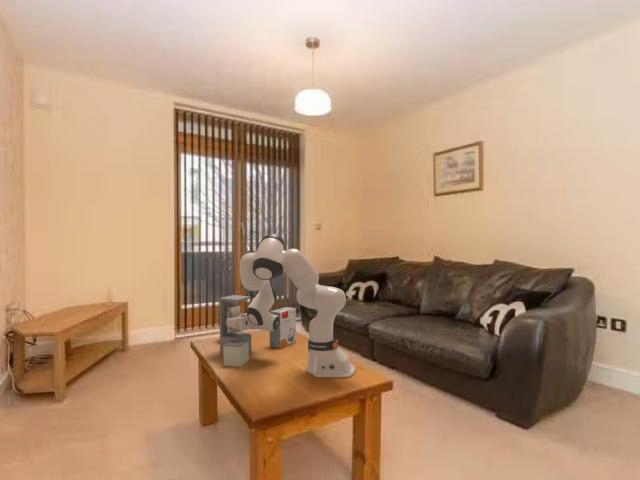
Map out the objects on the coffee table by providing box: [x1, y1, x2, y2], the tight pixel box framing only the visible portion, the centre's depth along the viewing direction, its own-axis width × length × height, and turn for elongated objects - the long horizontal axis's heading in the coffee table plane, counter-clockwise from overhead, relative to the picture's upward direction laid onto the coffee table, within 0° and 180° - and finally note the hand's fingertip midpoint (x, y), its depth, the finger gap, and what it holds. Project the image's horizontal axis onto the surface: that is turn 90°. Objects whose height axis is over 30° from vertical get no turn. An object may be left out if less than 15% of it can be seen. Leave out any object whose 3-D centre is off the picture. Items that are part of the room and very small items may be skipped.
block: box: [227, 304, 242, 334], centre depth 193 cm, size 5×5×14 cm
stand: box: [223, 340, 250, 368], centre depth 177 cm, size 9×9×10 cm
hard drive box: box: [269, 306, 297, 349], centre depth 206 cm, size 16×8×20 cm, turn 148°
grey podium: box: [218, 294, 252, 356], centre depth 192 cm, size 12×11×30 cm
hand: (232, 317), depth 193 cm, fingers closed on block, 5 cm apart
